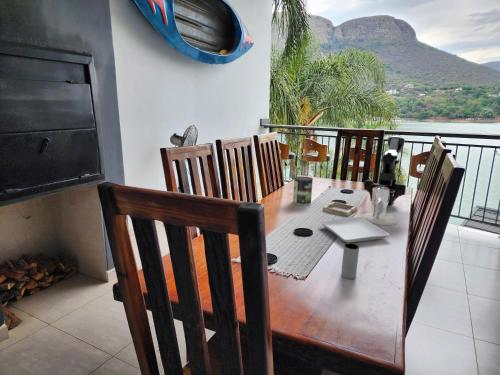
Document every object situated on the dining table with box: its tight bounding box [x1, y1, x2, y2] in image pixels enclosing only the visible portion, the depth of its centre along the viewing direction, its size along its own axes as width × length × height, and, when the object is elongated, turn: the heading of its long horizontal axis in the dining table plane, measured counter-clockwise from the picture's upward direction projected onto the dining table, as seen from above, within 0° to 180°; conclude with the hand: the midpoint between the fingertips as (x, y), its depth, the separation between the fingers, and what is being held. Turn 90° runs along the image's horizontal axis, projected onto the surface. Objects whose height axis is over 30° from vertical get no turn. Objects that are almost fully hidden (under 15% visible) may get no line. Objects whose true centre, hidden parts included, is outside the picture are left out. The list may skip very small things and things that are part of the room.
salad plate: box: [320, 216, 391, 243], centre depth 134 cm, size 21×21×3 cm
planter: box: [340, 242, 360, 280], centre depth 99 cm, size 4×4×10 cm
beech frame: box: [322, 201, 358, 217], centre depth 164 cm, size 13×13×2 cm
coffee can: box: [292, 176, 314, 206], centre depth 175 cm, size 10×10×14 cm
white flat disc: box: [361, 212, 398, 226], centre depth 152 cm, size 16×16×1 cm
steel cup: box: [372, 186, 390, 220], centre depth 150 cm, size 7×7×15 cm
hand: (381, 202), depth 150 cm, fingers open, 9 cm apart
